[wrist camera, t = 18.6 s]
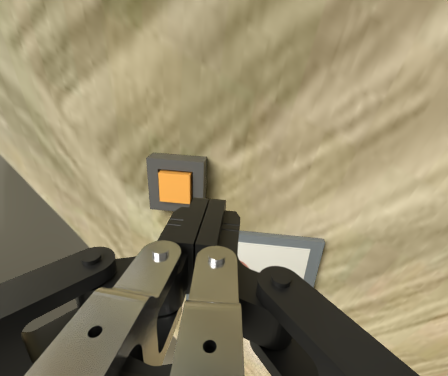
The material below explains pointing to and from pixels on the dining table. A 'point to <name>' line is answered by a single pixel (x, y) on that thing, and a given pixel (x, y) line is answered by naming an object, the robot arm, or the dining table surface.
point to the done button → (175, 186)
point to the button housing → (178, 164)
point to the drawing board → (280, 253)
